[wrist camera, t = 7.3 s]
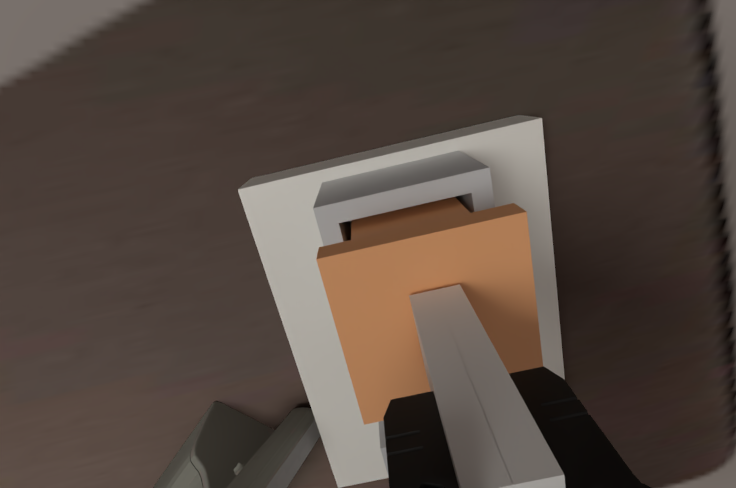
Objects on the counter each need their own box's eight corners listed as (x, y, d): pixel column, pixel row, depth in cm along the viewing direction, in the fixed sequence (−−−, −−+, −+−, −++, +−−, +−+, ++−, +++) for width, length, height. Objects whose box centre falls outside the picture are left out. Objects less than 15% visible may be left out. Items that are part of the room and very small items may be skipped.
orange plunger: (360, 309, 22) (364, 424, 14) (330, 195, 20) (316, 259, 12) (477, 283, 21) (545, 387, 14) (459, 165, 19) (526, 211, 12)
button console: (339, 451, 30) (335, 569, 23) (251, 178, 24) (204, 217, 16) (549, 408, 30) (616, 514, 22) (518, 114, 23) (598, 125, 16)
